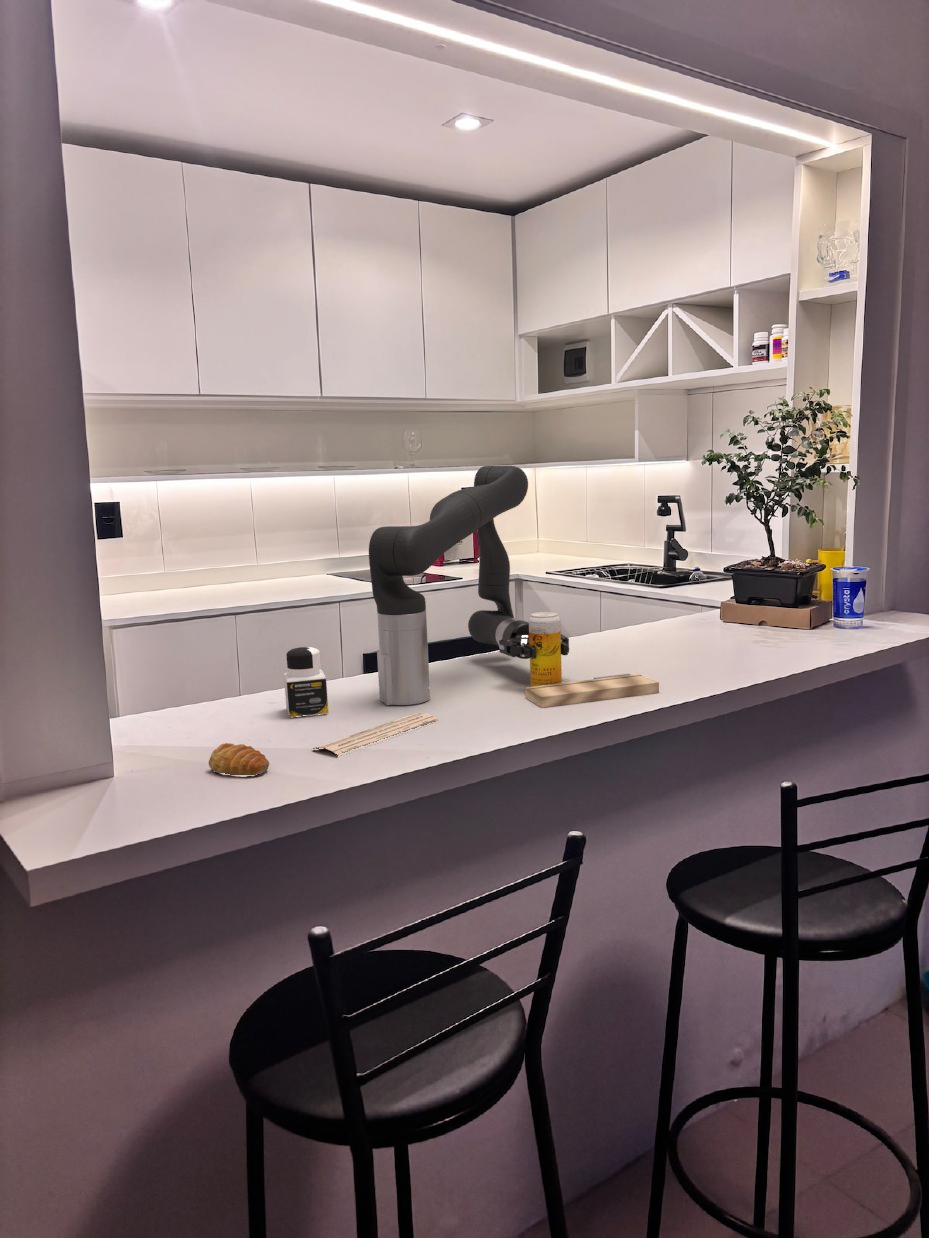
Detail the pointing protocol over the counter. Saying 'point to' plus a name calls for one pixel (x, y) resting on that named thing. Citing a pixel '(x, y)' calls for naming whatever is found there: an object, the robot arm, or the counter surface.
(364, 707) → the counter surface
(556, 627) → the beer can
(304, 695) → the medicine bottle
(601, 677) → the pad
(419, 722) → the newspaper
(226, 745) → the pastry
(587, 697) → the board
